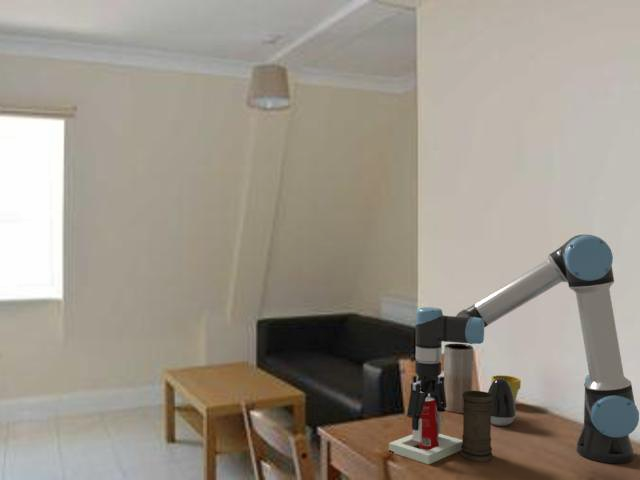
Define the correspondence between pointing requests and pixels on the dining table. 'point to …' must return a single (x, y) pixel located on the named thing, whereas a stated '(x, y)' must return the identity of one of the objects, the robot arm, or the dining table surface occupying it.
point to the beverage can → (429, 425)
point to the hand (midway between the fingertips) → (426, 436)
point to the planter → (457, 375)
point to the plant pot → (510, 383)
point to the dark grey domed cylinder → (502, 403)
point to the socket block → (408, 450)
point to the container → (477, 426)
